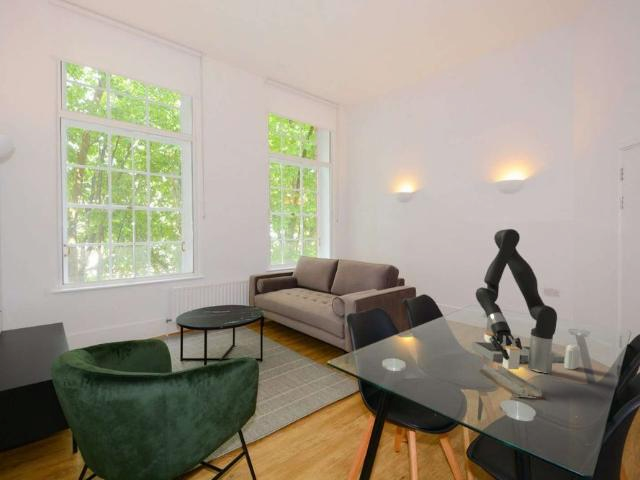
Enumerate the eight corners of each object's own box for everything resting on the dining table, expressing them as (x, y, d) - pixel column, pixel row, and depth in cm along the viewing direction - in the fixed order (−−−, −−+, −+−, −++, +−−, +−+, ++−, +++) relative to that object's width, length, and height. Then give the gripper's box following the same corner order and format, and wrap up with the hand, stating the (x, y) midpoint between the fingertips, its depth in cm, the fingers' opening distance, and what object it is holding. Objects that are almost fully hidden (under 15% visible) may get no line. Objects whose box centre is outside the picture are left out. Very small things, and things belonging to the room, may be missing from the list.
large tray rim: (503, 350, 197) (503, 343, 197) (527, 362, 177) (528, 355, 177) (471, 348, 195) (472, 341, 195) (492, 361, 175) (493, 353, 175)
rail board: (502, 372, 159) (503, 365, 159) (544, 398, 134) (545, 390, 134) (479, 371, 158) (480, 364, 158) (517, 397, 132) (518, 389, 132)
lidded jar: (485, 346, 201) (486, 331, 201) (482, 341, 212) (483, 327, 211) (504, 349, 198) (506, 334, 198) (500, 344, 208) (501, 329, 208)
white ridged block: (570, 364, 180) (572, 342, 180) (579, 367, 177) (581, 344, 176) (562, 367, 174) (564, 344, 174) (571, 370, 171) (574, 347, 171)
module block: (512, 366, 148) (514, 346, 148) (518, 369, 144) (520, 349, 144) (502, 365, 147) (504, 345, 147) (507, 368, 144) (510, 348, 144)
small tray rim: (542, 352, 200) (543, 347, 200) (565, 362, 184) (565, 356, 184) (518, 350, 198) (519, 345, 198) (538, 360, 182) (539, 355, 182)
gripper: (488, 319, 153) (503, 354, 141) (517, 321, 154) (533, 356, 143) (480, 327, 158) (493, 362, 146) (508, 329, 160) (523, 364, 148)
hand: (513, 359), depth 145 cm, fingers closed on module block, 5 cm apart
